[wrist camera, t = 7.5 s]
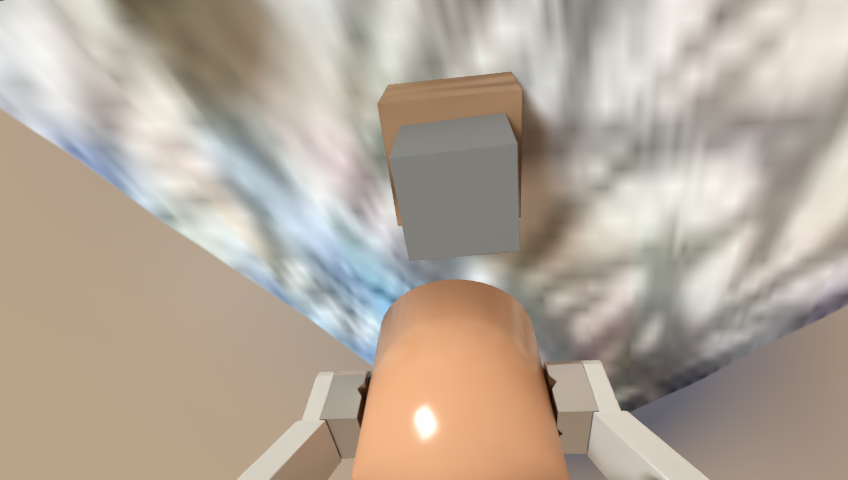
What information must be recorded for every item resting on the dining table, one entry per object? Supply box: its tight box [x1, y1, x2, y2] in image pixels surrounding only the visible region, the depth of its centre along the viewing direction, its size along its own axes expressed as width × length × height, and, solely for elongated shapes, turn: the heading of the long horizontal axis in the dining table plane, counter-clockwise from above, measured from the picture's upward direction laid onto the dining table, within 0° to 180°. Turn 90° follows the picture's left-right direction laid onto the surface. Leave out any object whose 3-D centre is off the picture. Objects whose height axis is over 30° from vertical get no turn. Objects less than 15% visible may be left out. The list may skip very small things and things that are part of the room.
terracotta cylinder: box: [351, 280, 570, 480], centre depth 11 cm, size 5×5×5 cm
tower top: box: [389, 113, 520, 261], centre depth 23 cm, size 6×6×5 cm
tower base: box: [378, 72, 522, 226], centre depth 27 cm, size 8×8×5 cm
